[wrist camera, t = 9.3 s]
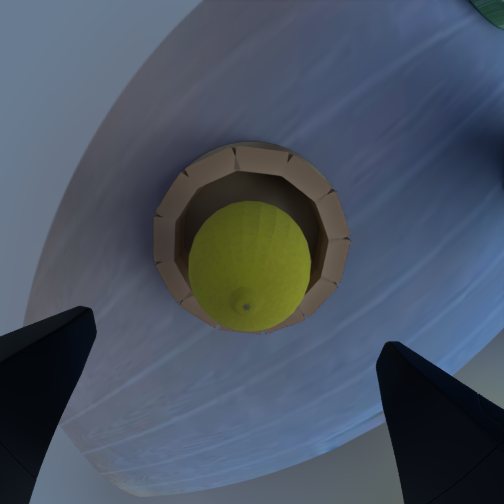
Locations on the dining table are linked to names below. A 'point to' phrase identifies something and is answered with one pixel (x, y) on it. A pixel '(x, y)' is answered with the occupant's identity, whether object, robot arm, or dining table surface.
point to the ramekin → (491, 10)
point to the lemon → (249, 266)
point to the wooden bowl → (252, 189)
